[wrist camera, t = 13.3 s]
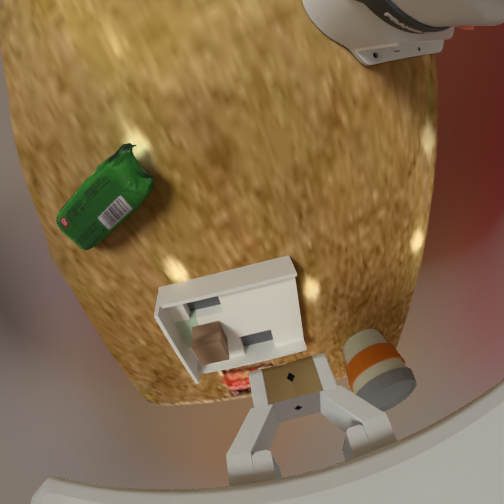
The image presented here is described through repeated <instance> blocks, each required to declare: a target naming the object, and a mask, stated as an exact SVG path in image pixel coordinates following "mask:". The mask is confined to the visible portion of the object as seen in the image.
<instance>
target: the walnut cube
mask: <svg viewBox="0 0 504 504" xmlns="http://www.w3.org/2000/svg"><path fill="white" fill-rule="evenodd" d="M192 350H193V351H194V353H195V355H196V356H197V358H198V359H199V361H200V362H201V364H202V365H206V364H211V363H216V362H220V361H225V360H229V351H228V341H227V337H226V335H225V333H224V331H223V328H222V326H221V324H220V322H219V321H215V322H211V323H207V324H203V325H199V326H195V327H192Z"/></svg>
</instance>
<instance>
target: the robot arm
mask: <svg viewBox="0 0 504 504" xmlns="http://www.w3.org/2000/svg"><path fill="white" fill-rule="evenodd" d="M302 2H303V5H304V8H305V10H306V12H307V14H308V15H309V17H310V18H311V20H312V21H313V22H314V24H315V25H316V26H317V27H318V28H319V29H320V30H321V31H322V32H323V33H324V34H326V35H327V36H328V37H330V38H331V39H333V40H334V41H336V42H338V43H339V44H341V45H343V46H345V47H346V48H348V49H349V50H350V51H351V52H352V54H353V55H354V56H355V57H356V58H357V60H358V61H359V62H360V63H362V64H363V65H366V66H370V65H374V64H378V63H383V62H388V61H392V60H397V59H403V58H408V57H414V56H420V55H427V54H433V53H439V52H441V51H442V48H443V44H444V39H450V38H451V37H452V35H453V32H454V26H457V27H459V28H461V29H467V30H472V29H474V26H473V25H491V26H493V25H498V24H501V23H503V22H504V0H302ZM373 53H375V55H376V58H374V56H373ZM249 379H250V385H251V391H252V397H253V403H254V408H251V409H250V411H249V413H248V415H247V417H246V419H245V421H244V423H243V425H242V427H241V428H240V431H239V432H238V434H237V436H236V438H235V440H234V442H233V444H232V446H231V447H230V449H229V451H228V453H227V455H226V458H227V467H228V476H229V485H230V486H226V487H216V488H201V489H172V490H171V489H139V488H125V487H115V486H106V485H99V484H91V483H86V482H80V481H74V480H69V479H65V478H60V477H50V478H48V479H47V480H46V481H45V482H44V483H43V484H42V485H41V486H40V487H39V489H38V490H37V491H36V492H35V494H34V495H33V497H32V500H31V503H30V504H504V379H503V380H501V381H500V382H499V383H497V384H496V385H495V386H493V387H492V388H490V389H489V390H488V391H486V392H485V393H483V394H482V395H480V396H479V397H477V398H476V399H474V400H473V401H472V402H470V403H468V404H467V405H465V406H463V407H462V408H460V409H458V410H457V411H455V412H454V413H452V414H450V415H448V416H446V417H445V418H443V419H441V420H439V421H438V422H436V423H434V424H432V425H430V426H428V427H426V428H424V429H422V430H420V431H418V432H416V433H414V434H412V435H410V436H408V437H406V438H403V439H401V440H399V441H397V439H396V437H395V434H394V432H393V430H392V427H391V425H390V422H389V420H388V418H387V416H386V414H385V413H384V412H382V411H381V410H379V409H378V408H376V407H375V406H373V405H371V404H370V403H368V402H367V401H365V400H363V399H362V398H360V397H359V396H357V395H356V394H354V393H353V392H351V391H350V390H348V389H346V388H345V387H344V386H342V385H339V386H337V384H336V381H335V378H334V375H333V373H332V370H331V368H330V365H329V363H328V360H327V358H326V355H325V354H324V353H320V354H317V355H314V356H309V357H306V358H303V359H299V360H296V361H292V362H288V363H286V364H282V365H278V366H273V367H269V368H265V369H260V370H255V371H251V372H249ZM317 412H321V413H322V414H323V415H324V416H325V417H327V418H328V419H329V420H330V421H331V422H333V423H334V424H335V425H336V426H338V427H339V428H340V429H341V430H342V431H344V432H345V433H346V435H345V440H344V444H343V449H342V451H343V454H344V457H345V460H346V461H344V462H341V463H338V464H335V465H331V466H328V467H325V468H321V469H317V470H314V471H310V472H306V473H302V474H298V475H293V476H289V477H285V478H282V476H281V471H280V467H279V465H278V464H277V462H276V460H275V458H274V457H273V455H272V453H271V452H270V451H269V450H270V448H271V445H272V443H273V440H274V438H275V435H276V433H277V430H278V427H279V425H280V422H283V421H287V420H291V419H294V418H298V417H302V416H306V415H310V414H314V413H317Z"/></svg>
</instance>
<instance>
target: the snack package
mask: <svg viewBox="0 0 504 504" xmlns="http://www.w3.org/2000/svg"><path fill="white" fill-rule="evenodd" d="M134 146H136V145H132V144H130V143H129V144H123V145H122V146H121V147H120V148H119V150H118V151H117V152H116V153H115V154H114V155H112V156H111V157H109V158H108V159H107V160H105V161H104V162H103V163H102V164H100V165H99V166H98V167H97V168H96V170H95V171H94V172H93V173H92V174H91V175H90V176H89V177H88V178H87V179H86V180H85V181H84V183H83V184H82V185H81V187H80V188H79V189H78V190H77V191H76V192H75V194H74V195H73V196H72V197H71V198H70V199H69V201H68V202H67V203H66V204H65V205H64V206H63V208H62V209H61V210H60V211H59V213H58V215H57V225H58V226H59V228H60V229H61V231H62V232H63V233H64V234H65V235H66V236H68V237H69V238H70V239H71V240H72V241H73V242H74V243H75V244H77V245H78V246H79V247H80V248H81V249H84V250H89V249H91V248H93V247H94V246H96V245H97V244H98V243H99V242H100V241H101V240H102V239H103V238H105V237H106V236H107V235H108V234H109V233H110V232H111V231H112V230H114V229H115V228H116V227H117V226H118V225H119V224H121V223H122V222H123V221H124V220H125V219H126V218H127V217H129V216H130V215H131V214H132V213H133V212H134V211H135V210H136V209H137V208H138V207H139V206H140V205H141V204H142V203H143V201H144V200H145V199H146V198H147V196H148V195H149V193H150V192H151V190H152V187H153V184H154V178H153V176H152V175H151V174H149V173H147V172H146V171H144V170H143V169H142V168H141V166H140V165H139V163H138V161H137V160H136V158H135V156H134V155H133V152H132V148H133V147H134Z"/></svg>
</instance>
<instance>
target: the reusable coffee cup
mask: <svg viewBox="0 0 504 504" xmlns="http://www.w3.org/2000/svg"><path fill="white" fill-rule="evenodd" d="M343 353H344V357H345V360H346V364H347V368H346V372H347V376H348V380H349V384H350V388H351V390H352V391H353V392H354V394H356V395H357V396H359V397H360V398H362V399H363V400H365V401H367V402H368V403H370V404H371V405H373V406H375V407H376V408H378V409H379V410H381V411H382V412H384V411H386V410H388V409H390V408H392V407H394V406H396V405H397V404H399V403H400V402H402V401H403V400H404V399H406V398H407V397H408V396H409V395H410V394H411V393H412V392H413V391H414V389H415V387H416V380H415V378H414V375H413V373H412V370H411V369H409V368H407V367H406V365H405V362H404V359H403V358H402V357H401V356H400V354H399V353H398V352H397V350H396V349H395V348H394V347H393V346H392V344H390V343H388V342H387V341H386V340H385V339H384V337H383V336H382V335H381V334H380V332H379V331H378V330H376V329H366V330H362V331H360V332H358V333H356V334H355V335H353V336H352V337H351V338H349V339H348V341H347V342H346V343H345V345H344V347H343Z"/></svg>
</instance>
